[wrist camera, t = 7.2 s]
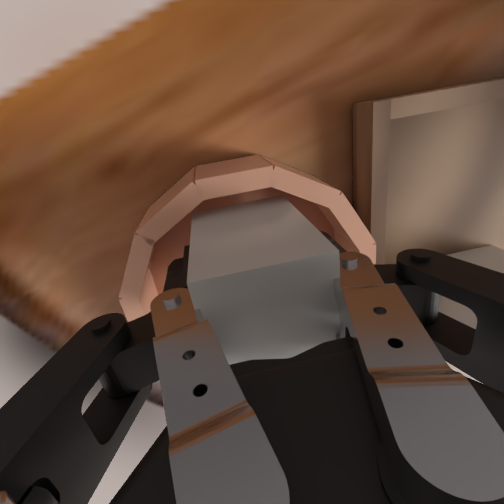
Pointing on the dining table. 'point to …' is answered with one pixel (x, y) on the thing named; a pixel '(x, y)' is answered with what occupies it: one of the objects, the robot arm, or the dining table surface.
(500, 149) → the tray
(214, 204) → the bowl
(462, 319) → the white rectangular block
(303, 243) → the light grey block
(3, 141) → the dining table surface
